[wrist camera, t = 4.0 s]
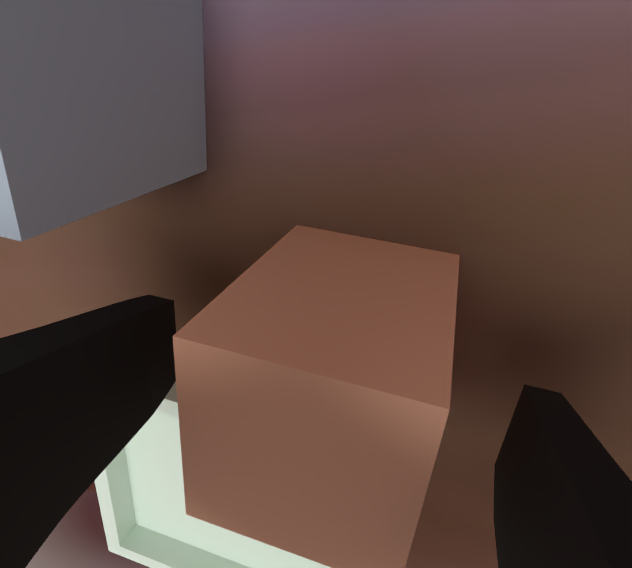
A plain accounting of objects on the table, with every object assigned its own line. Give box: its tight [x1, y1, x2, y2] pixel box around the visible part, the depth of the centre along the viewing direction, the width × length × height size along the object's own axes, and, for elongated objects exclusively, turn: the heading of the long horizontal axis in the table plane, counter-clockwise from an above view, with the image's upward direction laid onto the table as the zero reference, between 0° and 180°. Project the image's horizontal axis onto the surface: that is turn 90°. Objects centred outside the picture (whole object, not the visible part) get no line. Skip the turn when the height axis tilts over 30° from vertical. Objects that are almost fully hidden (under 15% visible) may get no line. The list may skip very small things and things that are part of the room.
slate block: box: [0, 0, 207, 241], centre depth 9 cm, size 4×4×6 cm
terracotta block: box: [173, 225, 460, 568], centre depth 9 cm, size 4×4×6 cm
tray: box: [95, 382, 331, 568], centre depth 16 cm, size 9×9×2 cm
